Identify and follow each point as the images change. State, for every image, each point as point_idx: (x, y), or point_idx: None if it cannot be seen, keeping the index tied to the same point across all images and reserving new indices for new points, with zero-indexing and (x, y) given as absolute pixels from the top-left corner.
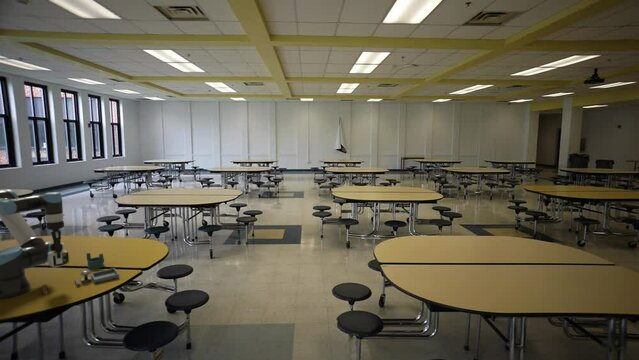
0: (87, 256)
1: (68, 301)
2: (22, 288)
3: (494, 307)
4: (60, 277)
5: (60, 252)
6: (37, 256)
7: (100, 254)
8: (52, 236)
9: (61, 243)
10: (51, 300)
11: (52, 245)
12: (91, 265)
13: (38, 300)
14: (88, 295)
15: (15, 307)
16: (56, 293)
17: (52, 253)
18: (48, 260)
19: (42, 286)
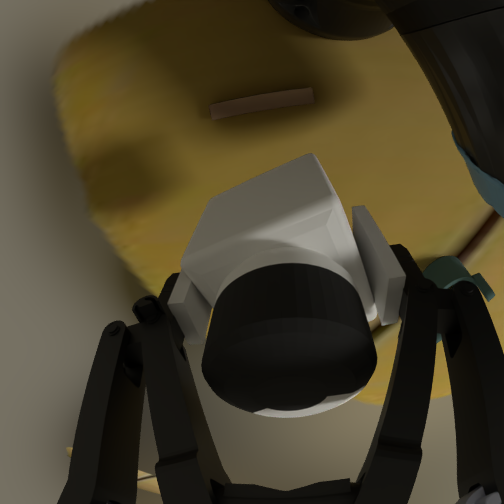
0: (483, 285)
1: (101, 213)
2: (291, 9)
3: (70, 449)
4: (421, 158)
5: (185, 332)
6: (449, 81)
7: (438, 337)
8: (357, 494)
9: (267, 415)
10: (129, 153)
11: (230, 355)
12: (433, 279)
13: (151, 100)
14: (131, 266)
15: (120, 37)
16: (200, 156)
17: (242, 258)
18: (308, 167)
19: (303, 88)
